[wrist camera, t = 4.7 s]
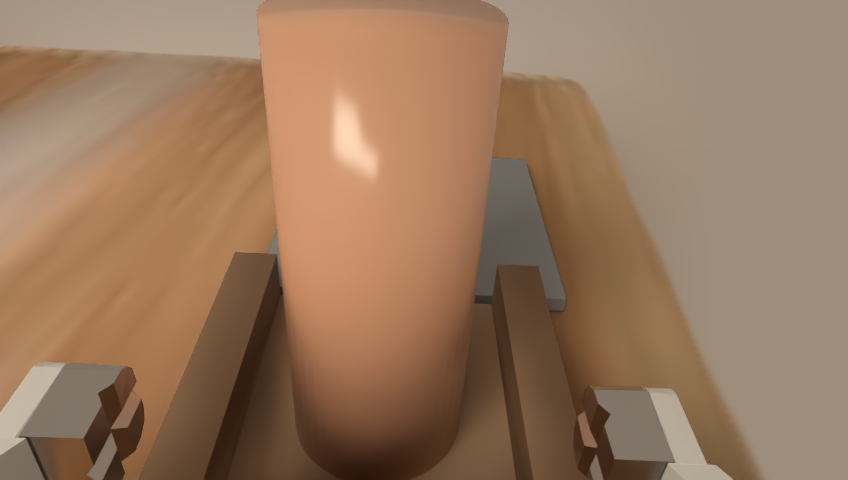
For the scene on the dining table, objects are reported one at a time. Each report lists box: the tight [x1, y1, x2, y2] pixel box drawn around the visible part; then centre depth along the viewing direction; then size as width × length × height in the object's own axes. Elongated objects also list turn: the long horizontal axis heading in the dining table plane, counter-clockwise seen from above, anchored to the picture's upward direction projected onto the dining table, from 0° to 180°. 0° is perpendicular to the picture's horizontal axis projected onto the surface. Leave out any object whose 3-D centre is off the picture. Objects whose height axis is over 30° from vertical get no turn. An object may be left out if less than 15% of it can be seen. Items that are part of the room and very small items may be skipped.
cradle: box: [139, 252, 586, 480], centre depth 19 cm, size 11×11×2 cm
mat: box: [268, 158, 566, 311], centre depth 30 cm, size 12×12×1 cm
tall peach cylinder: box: [257, 0, 509, 480], centre depth 17 cm, size 5×8×12 cm, turn 0°
